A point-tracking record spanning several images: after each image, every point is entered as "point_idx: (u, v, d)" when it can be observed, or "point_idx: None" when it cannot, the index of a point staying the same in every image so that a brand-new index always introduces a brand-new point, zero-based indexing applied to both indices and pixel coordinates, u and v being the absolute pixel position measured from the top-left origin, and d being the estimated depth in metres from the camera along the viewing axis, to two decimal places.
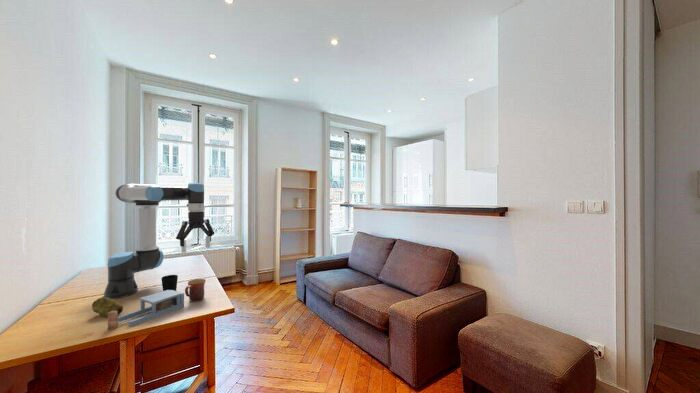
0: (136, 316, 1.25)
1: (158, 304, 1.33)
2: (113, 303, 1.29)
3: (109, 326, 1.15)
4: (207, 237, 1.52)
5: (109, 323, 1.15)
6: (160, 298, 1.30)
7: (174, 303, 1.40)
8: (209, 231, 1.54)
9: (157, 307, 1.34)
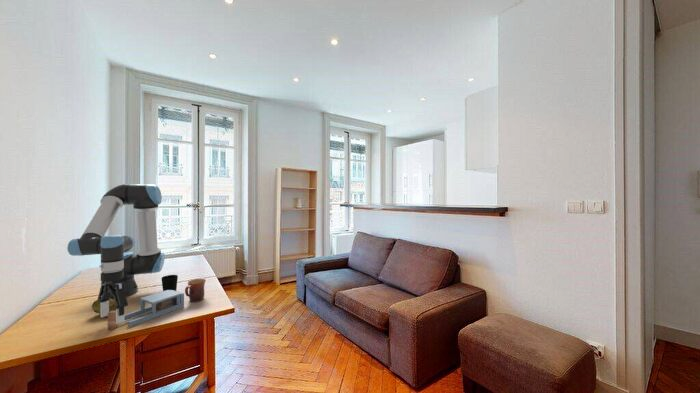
0: (136, 316, 1.25)
1: (158, 304, 1.33)
2: (113, 303, 1.29)
3: (109, 326, 1.15)
4: None
5: (109, 323, 1.15)
6: (160, 298, 1.30)
7: (174, 303, 1.40)
8: None
9: (157, 307, 1.34)
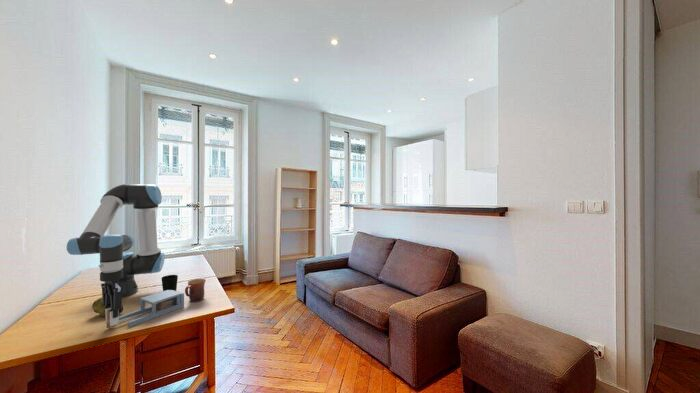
0: (135, 315, 1.24)
1: (158, 304, 1.33)
2: None
3: (108, 324, 1.15)
4: None
5: (108, 321, 1.15)
6: (160, 298, 1.30)
7: (174, 303, 1.40)
8: None
9: (157, 307, 1.33)
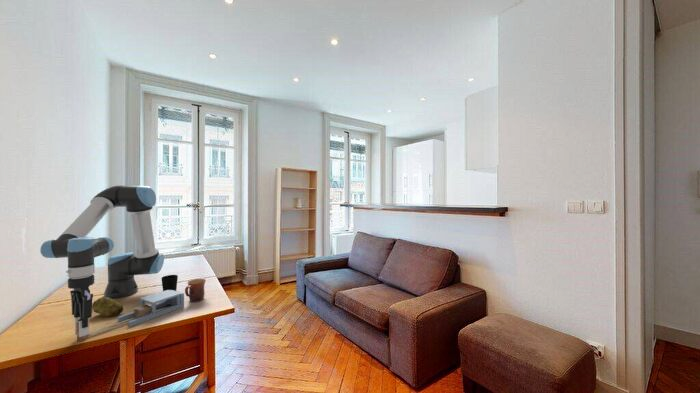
0: (110, 326, 1.15)
1: (136, 312, 1.24)
2: (113, 303, 1.29)
3: (78, 337, 1.06)
4: None
5: (78, 334, 1.06)
6: (160, 298, 1.30)
7: (174, 303, 1.40)
8: None
9: (135, 315, 1.25)
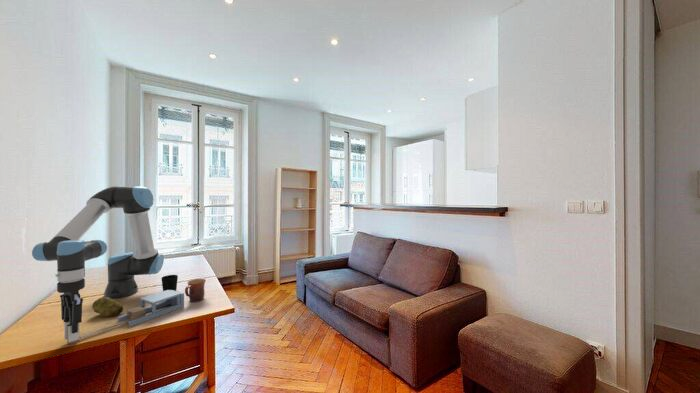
0: None
1: (129, 314, 1.22)
2: (114, 303, 1.29)
3: None
4: None
5: None
6: (160, 298, 1.30)
7: (174, 303, 1.40)
8: None
9: (128, 318, 1.22)
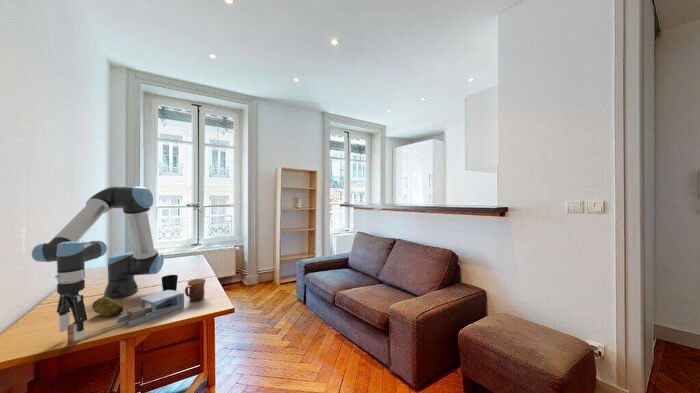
0: None
1: (129, 314, 1.22)
2: (114, 303, 1.29)
3: (69, 340, 1.04)
4: None
5: (69, 337, 1.04)
6: (160, 298, 1.30)
7: (174, 303, 1.40)
8: None
9: (128, 318, 1.22)
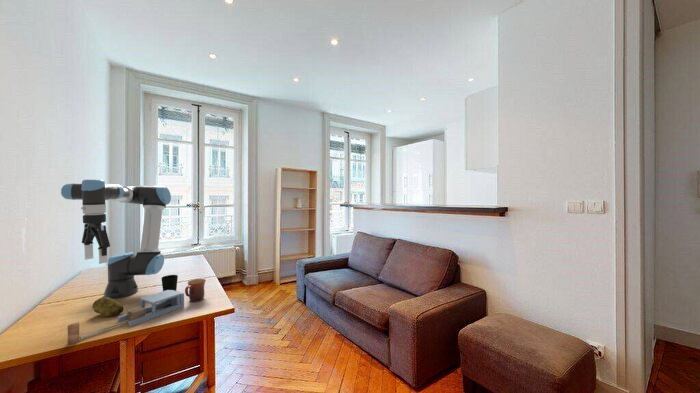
0: None
1: (129, 314, 1.22)
2: (114, 303, 1.29)
3: (69, 340, 1.04)
4: None
5: (69, 337, 1.04)
6: (160, 298, 1.30)
7: (174, 303, 1.40)
8: None
9: (128, 318, 1.22)
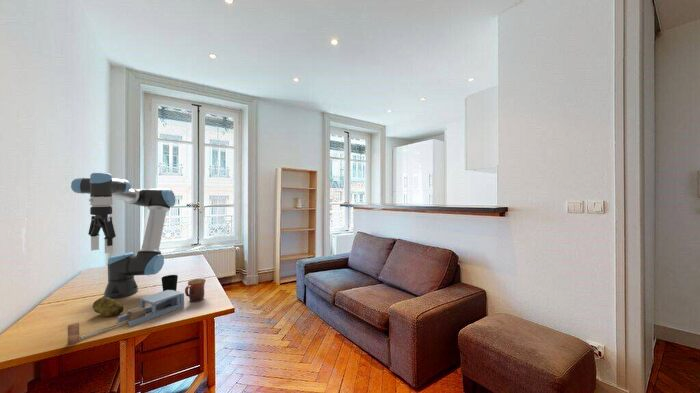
0: None
1: (129, 314, 1.22)
2: (114, 303, 1.29)
3: (69, 340, 1.04)
4: None
5: (69, 337, 1.04)
6: (160, 298, 1.30)
7: (174, 303, 1.40)
8: None
9: (128, 318, 1.22)
